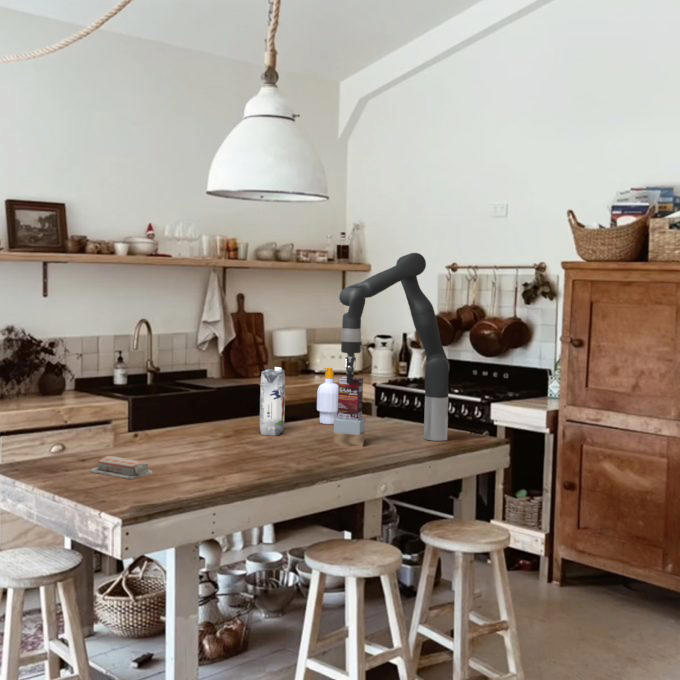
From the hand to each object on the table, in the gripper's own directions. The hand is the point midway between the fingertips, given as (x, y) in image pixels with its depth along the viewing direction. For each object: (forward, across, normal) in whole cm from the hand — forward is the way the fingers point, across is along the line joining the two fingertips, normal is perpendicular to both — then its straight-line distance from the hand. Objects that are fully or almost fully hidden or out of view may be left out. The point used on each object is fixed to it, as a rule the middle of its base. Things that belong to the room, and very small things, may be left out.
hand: (350, 382), depth 336 cm
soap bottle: (+24, +44, +11) cm, 51 cm away
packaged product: (+24, -62, +69) cm, 96 cm away
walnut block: (+24, 0, 0) cm, 24 cm away
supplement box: (+14, 0, 0) cm, 14 cm away
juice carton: (+24, +14, +32) cm, 42 cm away
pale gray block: (+19, 0, 0) cm, 19 cm away
